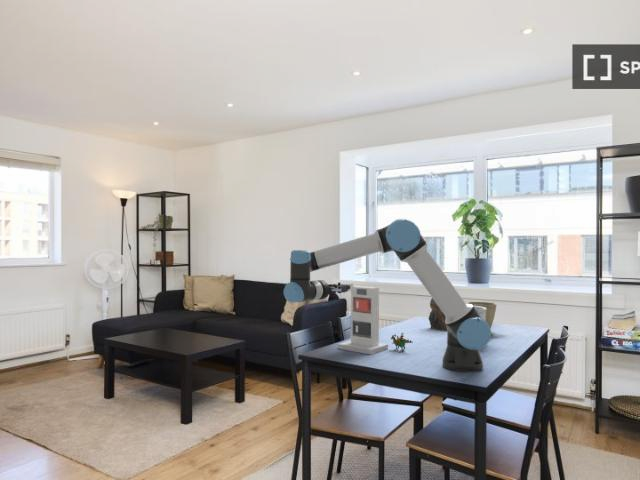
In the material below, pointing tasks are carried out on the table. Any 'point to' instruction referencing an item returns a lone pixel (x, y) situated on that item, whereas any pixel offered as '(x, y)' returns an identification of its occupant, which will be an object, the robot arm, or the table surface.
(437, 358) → the table surface
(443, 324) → the owl
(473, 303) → the plant pot
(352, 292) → the rocker switch stand
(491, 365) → the table surface
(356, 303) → the red rocker
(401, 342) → the figurine
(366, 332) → the black rocker
